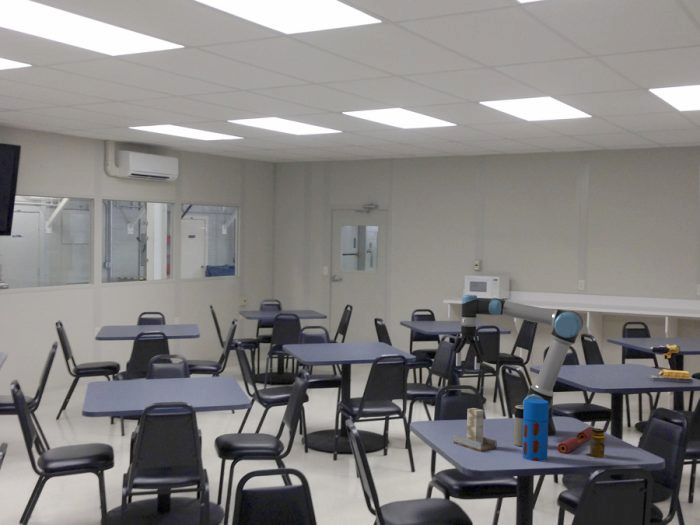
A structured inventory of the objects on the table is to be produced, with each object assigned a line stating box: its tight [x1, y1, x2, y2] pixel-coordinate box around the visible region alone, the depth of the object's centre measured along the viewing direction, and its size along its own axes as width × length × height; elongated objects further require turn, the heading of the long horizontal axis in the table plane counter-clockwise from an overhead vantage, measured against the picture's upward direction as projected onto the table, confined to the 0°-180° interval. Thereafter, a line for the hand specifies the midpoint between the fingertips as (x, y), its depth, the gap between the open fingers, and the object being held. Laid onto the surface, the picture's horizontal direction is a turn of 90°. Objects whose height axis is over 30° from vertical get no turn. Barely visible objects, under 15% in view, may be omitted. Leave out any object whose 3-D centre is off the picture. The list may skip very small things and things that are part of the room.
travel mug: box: [513, 404, 524, 447], centre depth 363 cm, size 8×8×18 cm
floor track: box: [453, 434, 498, 453], centre depth 358 cm, size 18×10×4 cm, turn 34°
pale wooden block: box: [466, 407, 485, 445], centre depth 358 cm, size 6×4×16 cm
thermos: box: [522, 398, 549, 462], centre depth 340 cm, size 11×11×25 cm
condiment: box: [583, 427, 608, 459], centre depth 346 cm, size 7×8×12 cm
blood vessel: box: [557, 426, 594, 455], centre depth 366 cm, size 42×5×5 cm, turn 146°
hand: (467, 367), depth 390 cm, fingers open, 13 cm apart
